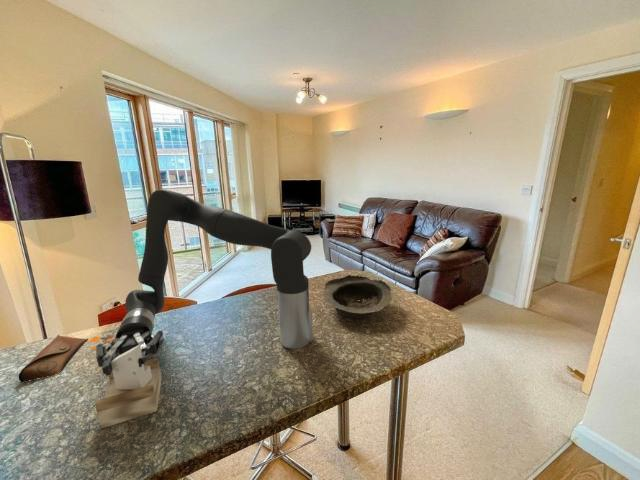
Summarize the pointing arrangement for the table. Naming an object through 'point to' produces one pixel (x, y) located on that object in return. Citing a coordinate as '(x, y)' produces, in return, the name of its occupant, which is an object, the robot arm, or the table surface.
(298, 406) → the table surface
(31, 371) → the sunglasses case
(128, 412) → the wooden step block
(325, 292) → the stone bowl
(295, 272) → the robot arm
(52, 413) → the table surface
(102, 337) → the key chain
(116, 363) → the white angled block
